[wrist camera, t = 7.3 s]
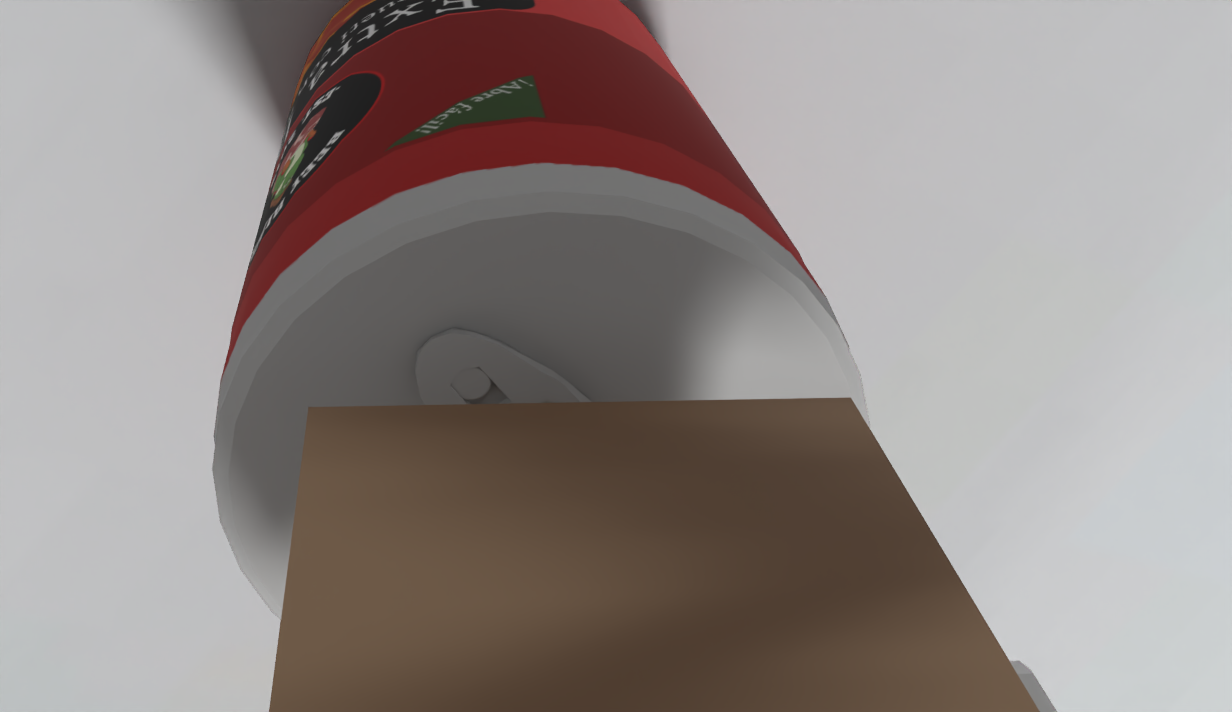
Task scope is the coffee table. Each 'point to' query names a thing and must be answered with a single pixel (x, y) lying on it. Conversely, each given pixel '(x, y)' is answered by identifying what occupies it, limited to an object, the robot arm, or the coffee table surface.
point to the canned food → (499, 244)
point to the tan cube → (621, 565)
